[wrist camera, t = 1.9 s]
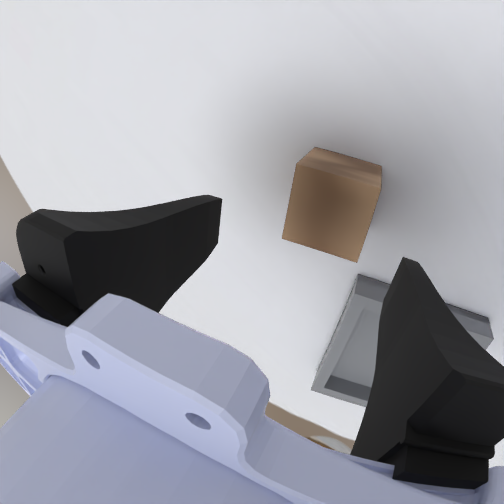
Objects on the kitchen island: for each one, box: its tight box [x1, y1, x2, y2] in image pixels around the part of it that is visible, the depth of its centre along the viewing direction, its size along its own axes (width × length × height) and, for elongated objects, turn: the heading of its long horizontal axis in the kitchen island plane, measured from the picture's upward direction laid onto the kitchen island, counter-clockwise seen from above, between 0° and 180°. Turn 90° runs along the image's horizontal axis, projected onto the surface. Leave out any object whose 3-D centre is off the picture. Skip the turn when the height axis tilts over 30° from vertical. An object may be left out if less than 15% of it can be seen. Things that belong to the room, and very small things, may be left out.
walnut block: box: [282, 147, 382, 263], centre depth 19 cm, size 4×4×5 cm
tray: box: [311, 274, 494, 407], centre depth 24 cm, size 12×12×2 cm
